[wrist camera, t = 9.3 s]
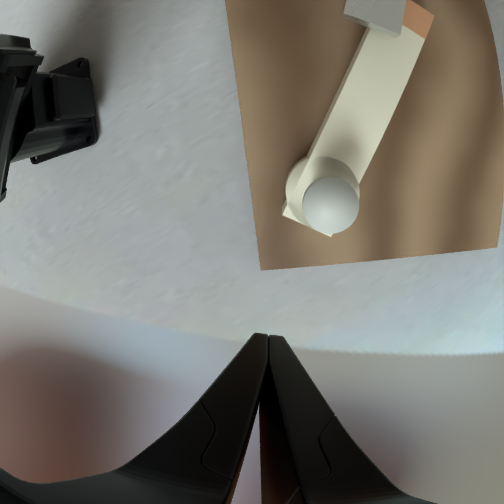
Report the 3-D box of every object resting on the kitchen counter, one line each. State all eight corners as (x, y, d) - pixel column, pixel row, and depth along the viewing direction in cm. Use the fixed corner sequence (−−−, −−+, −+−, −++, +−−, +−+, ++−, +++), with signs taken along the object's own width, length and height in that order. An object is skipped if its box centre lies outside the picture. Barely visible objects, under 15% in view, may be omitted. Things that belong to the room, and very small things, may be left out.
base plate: (261, 263, 21) (260, 270, 20) (219, -50, 13) (217, -56, 12) (490, 242, 19) (497, 247, 18) (465, -32, 11) (471, -36, 10)
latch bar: (333, 231, 19) (347, 260, 15) (274, 203, 18) (273, 226, 14) (429, 26, 13) (462, 9, 9) (373, -8, 12) (396, -35, 9)
